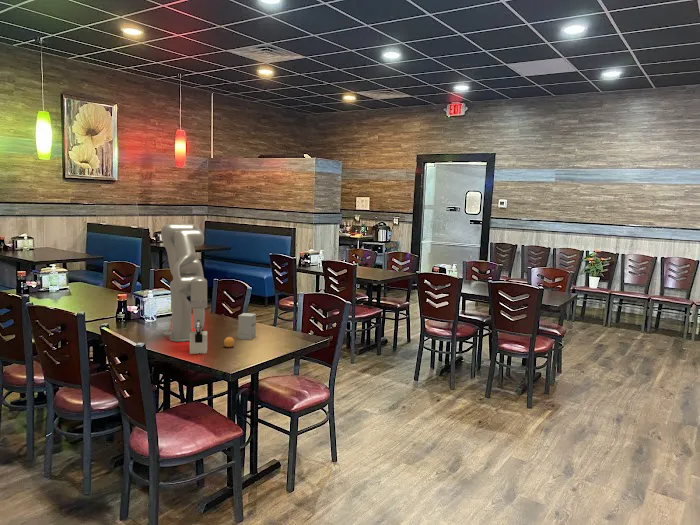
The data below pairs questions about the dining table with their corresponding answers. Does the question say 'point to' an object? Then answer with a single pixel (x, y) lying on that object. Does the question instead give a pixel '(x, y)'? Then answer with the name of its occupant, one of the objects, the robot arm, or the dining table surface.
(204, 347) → the gray block
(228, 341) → the ball
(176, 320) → the robot arm
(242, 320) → the supplement box
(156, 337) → the dining table surface
